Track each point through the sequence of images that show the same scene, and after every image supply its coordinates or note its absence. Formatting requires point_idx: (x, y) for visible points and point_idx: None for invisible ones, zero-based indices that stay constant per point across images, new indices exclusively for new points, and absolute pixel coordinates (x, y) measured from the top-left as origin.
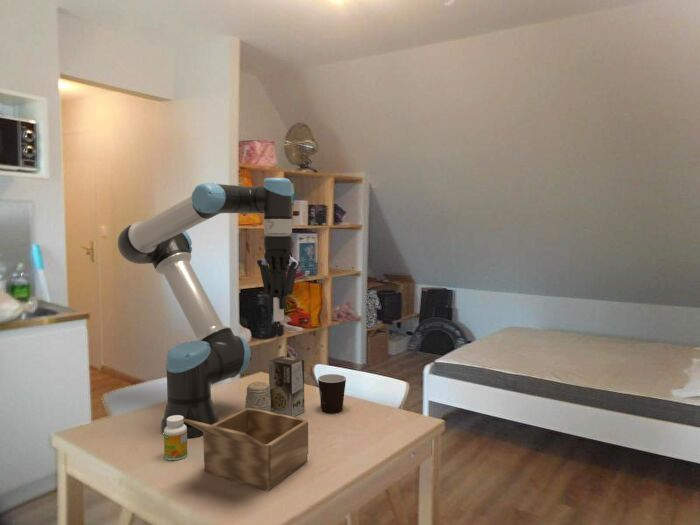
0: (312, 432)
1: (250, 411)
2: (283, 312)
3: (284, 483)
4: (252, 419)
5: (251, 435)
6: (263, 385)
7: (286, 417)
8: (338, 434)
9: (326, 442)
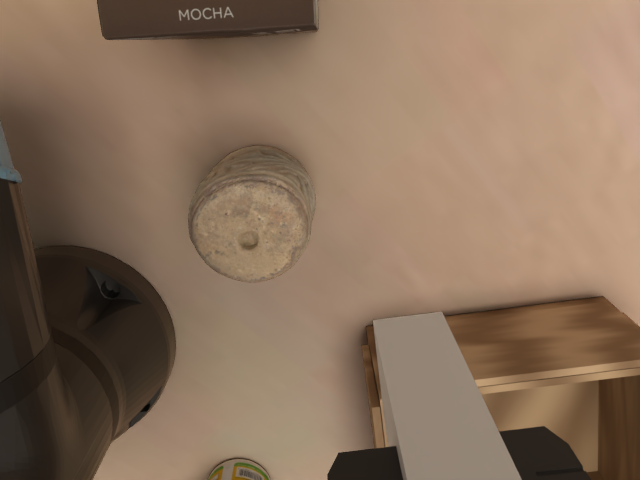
0: (488, 106)
1: None
2: (464, 365)
3: None
4: None
5: None
6: (279, 225)
7: (582, 381)
8: (590, 59)
9: (586, 148)
